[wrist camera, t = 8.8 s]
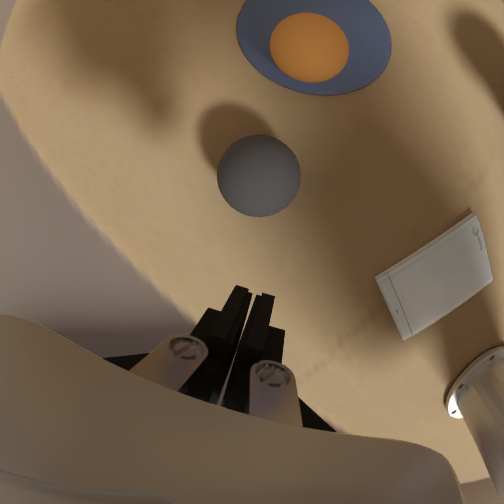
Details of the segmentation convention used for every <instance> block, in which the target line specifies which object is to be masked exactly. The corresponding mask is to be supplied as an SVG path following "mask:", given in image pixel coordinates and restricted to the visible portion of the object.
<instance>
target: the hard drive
mask: <svg viewBox="0 0 504 504" xmlns="http://www.w3.org/2000/svg"><path fill="white" fill-rule="evenodd" d="M374 278H375V280H376V282H377V284H378V286H379V288H380V291H381V293H382V295H383V297H384V299H385V302H386V304H387V306H388V308H389V311H390V313H391V315H392V318H393V320H394V322H395V325H396V327H397V329H398V332H399V334H400V337H401V339H402V341H403V342H404V341H405V340H407V339H409V338H410V337H412V336H414V335H416V334H417V333H419V332H420V331H422V330H424V329H425V328H427V327H429V326H430V325H432V324H433V323H435V322H436V321H438V320H439V319H441V318H442V317H444V316H445V315H447V314H448V313H450V312H452V311H453V310H454V309H456V308H457V307H459V306H460V305H461V304H463V303H464V302H465V301H467V300H468V299H469V298H471V297H472V296H474V295H475V294H476V293H478V292H479V291H480V290H482V289H483V288H484V287H485V286H487V285H488V284H489V283H490V282H492V280H493V277H492V272H491V267H490V262H489V258H488V253H487V249H486V245H485V241H484V237H483V234H482V230H481V227H480V223H479V220H478V217H477V215H476V214H474V213H471V214H469V215H468V216H467V217H465V218H464V219H463V220H461V221H460V222H458V223H457V224H455V225H454V226H453V227H451V228H450V229H448V230H447V231H445V232H444V233H443V234H441V235H440V236H438V237H437V238H435V239H434V240H432V241H431V242H429V243H428V244H426V245H425V246H423V247H422V248H420V249H419V250H417V251H415V252H414V253H412V254H411V255H409V256H408V257H406V258H405V259H403V260H401V261H400V262H398V263H397V264H395V265H393V266H392V267H390V268H388V269H387V270H385V271H383V272H382V273H380V274H378V275H377V276H375V277H374Z"/></svg>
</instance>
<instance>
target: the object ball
mask: <svg viewBox="0 0 504 504" xmlns="http://www.w3.org/2000/svg"><path fill="white" fill-rule="evenodd" d="M270 52H271V55H272V58H273V60H274V62H275V63H276V65H277V66H278V67H279V68H280V69H281V70H282V71H283V72H284V73H285V74H287V75H288V76H290V77H292V78H294V79H296V80H299V81H303V82H310V83H314V82H322V81H326V80H328V79H331V78H333V77H334V76H336V75H337V74H338V73H339V72H340V71H341V70H342V69H343V68H344V66H345V65H346V63H347V60H348V56H349V44H348V40H347V38H346V36H345V34H344V32H343V31H342V29H341V28H340V27H339V26H338V25H337V24H336V23H335V22H333V21H332V20H331V19H329V18H327V17H325V16H322V15H319V14H315V13H298V14H294V15H291V16H289V17H287V18H285V19H284V20H282V21H281V22H280V23H279V24H278V25H277V26H276V27H275V29H274V30H273V32H272V35H271V38H270Z"/></svg>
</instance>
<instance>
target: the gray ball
mask: <svg viewBox="0 0 504 504" xmlns="http://www.w3.org/2000/svg"><path fill="white" fill-rule="evenodd" d="M217 181H218V186H219V189H220V192H221V194H222V196H223V198H224V199H225V200H226V202H227V203H228V204H229V205H230V206H231V207H232V208H234V209H235V210H237V211H238V212H240V213H242V214H245V215H248V216H254V217H264V216H270V215H273V214H275V213H278V212H279V211H281V210H283V209H284V208H285V207H287V206H288V205H289V204H290V203H291V201H292V200H293V199H294V197H295V195H296V193H297V191H298V188H299V184H300V168H299V164H298V161H297V159H296V157H295V155H294V154H293V152H292V151H291V150H290V148H288V147H287V146H286V145H285V144H284V143H283V142H281V141H279V140H278V139H275V138H273V137H269V136H265V135H253V136H248V137H244V138H242V139H240V140H238V141H236V142H235V143H233V144H232V145H231V146H230V147H229V148H228V149H227V150H226V151H225V153H224V154H223V156H222V158H221V160H220V162H219V166H218V171H217Z"/></svg>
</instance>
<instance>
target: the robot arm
mask: <svg viewBox="0 0 504 504" xmlns="http://www.w3.org/2000/svg"><path fill="white" fill-rule="evenodd" d="M248 290H249V289H248V288H244V287H241V286H238V285H236V286H235V288H234V289H233V291H232V293H231V295H230V296H229V298H228V300H227V302H226V304H225V305H224V307H223V309H222V311H218V310H215V309H211V308H208V309H207V310H206V312H205V313H204V315H203V316H202V318H201V319H200V321H199V322H198V324H197V325H196V327H195V328H194V330H193V331H192V333H191V334H190V335H184V334H180V335H173V336H171V337H169V338H167V339H166V340H165V341H164V342H162V343H161V344H160V345H159V346H158V347H157V348H155V349H154V350H153V351H152V352H151V353H145V354H138V355H128V356H120V357H108V358H100V357H98V356H96V355H95V354H93V353H91V352H89V351H87V350H85V349H83V348H82V347H80V346H78V345H76V344H75V343H73V342H71V341H69V340H67V339H65V338H64V337H62V336H60V335H58V334H57V333H55V332H53V331H51V330H49V329H47V328H45V327H43V326H41V325H39V324H37V323H35V322H32V321H29V320H27V319H23V318H20V317H16V316H10V315H0V504H466V501H465V498H464V495H463V491H462V488H461V486H460V483H459V481H458V478H457V476H456V474H455V471H454V470H453V468H452V466H451V464H450V463H449V461H448V460H447V459H446V458H445V457H444V456H443V455H442V454H440V453H438V452H437V451H435V450H433V449H431V448H428V447H425V446H422V445H419V444H415V443H411V442H407V441H402V440H395V439H388V438H377V437H368V436H360V435H352V434H343V433H337V432H336V431H335V430H334V429H333V428H332V427H331V426H329V425H328V424H327V423H326V422H325V421H324V420H323V419H322V418H321V417H319V416H318V415H317V414H316V413H315V412H314V411H313V410H312V409H311V408H310V407H309V406H307V405H306V404H305V403H304V402H303V401H302V400H301V399H300V398H299V397H298V393H297V387H296V381H295V377H294V374H293V372H292V371H291V370H290V369H289V368H288V367H286V366H285V365H283V364H281V363H282V355H283V346H284V337H285V330H282V329H279V328H275V327H271V326H269V323H270V318H271V313H272V308H273V303H274V299H275V296H272V295H269V294H265V293H262V296H260V295H256V297H255V300H254V303H253V306H252V309H251V311H250V314H249V317H248V320H247V323H246V325H245V328H244V331H243V334H242V330H243V326H244V323H245V319H246V316H247V312H248V309H249V305H250V301H251V298H252V293H249V292H248ZM241 334H242V336H241ZM240 337H241V339H240ZM239 341H240V342H239ZM238 344H239V345H238ZM236 351H237V352H236ZM235 354H236V355H235ZM234 356H235V359H234ZM233 359H234V362H233ZM232 362H233V366H232V370H231V373H230V377H229V380H228V383H227V387H226V390H225V394H224V397H223V401H222V404H221V406H222V407H220V406H217V405H216V404H217V402H218V399H219V397H220V394H221V391H222V389H223V386H224V383H225V381H226V378H227V375H228V372H229V370H230V367H231V364H232ZM211 403H212V404H211ZM213 404H215V405H213ZM223 407H225V408H223ZM446 409H447V412H448V413H449V415H450V416H451V417H453V418H463V419H464V421H465V423H466V425H467V427H468V429H469V431H470V433H471V435H472V437H473V439H474V441H475V443H476V445H477V447H478V450H479V452H480V454H481V456H482V459H483V461H484V463H485V466H486V468H487V470H488V473H489V475H490V478H491V480H492V482H493V485H494V488H495V490H496V492H497V494H498V495H499V496H500V497H501V498H503V499H504V346H500V347H496V348H493V349H490V350H489V351H487V352H485V353H483V354H482V355H481V356H479V357H478V358H477V359H475V360H474V361H473V362H472V363H471V364H470V365H469V366H468V367H467V368H466V369H465V370H464V371H463V372H462V373H461V374H460V375H459V377H458V378H457V379H456V381H455V382H454V384H453V385H452V387H451V389H450V391H449V393H448V395H447V398H446Z"/></svg>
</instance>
